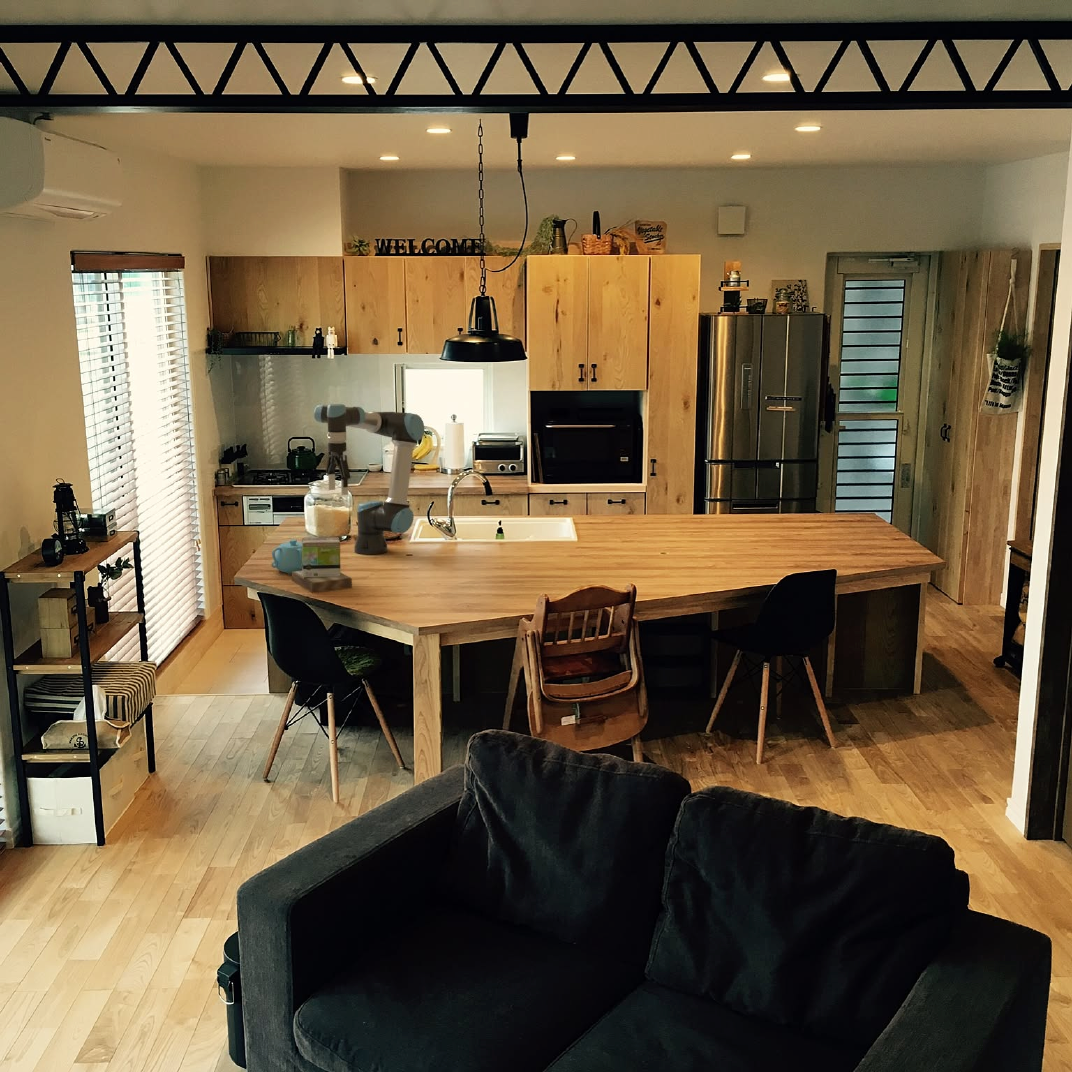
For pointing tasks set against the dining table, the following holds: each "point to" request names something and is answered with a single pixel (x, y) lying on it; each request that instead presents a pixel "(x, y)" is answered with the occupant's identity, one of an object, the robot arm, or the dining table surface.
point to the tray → (322, 582)
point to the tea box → (321, 557)
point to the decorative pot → (288, 557)
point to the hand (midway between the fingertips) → (338, 492)
